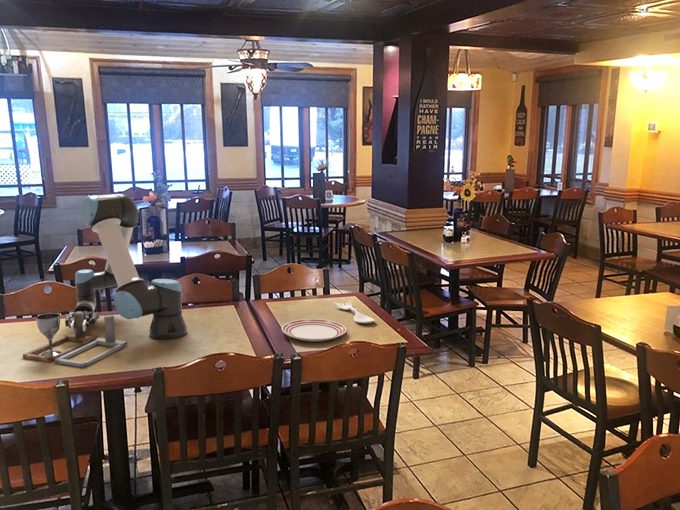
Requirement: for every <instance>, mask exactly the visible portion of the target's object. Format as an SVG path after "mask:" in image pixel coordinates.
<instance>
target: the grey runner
mask: <svg viewBox="0 0 680 510" xmlns="http://www.w3.org/2000/svg"><path fill="white" fill-rule="evenodd" d="M103 322H104V336H105V338H104V337H98V338H96V340H94V341H93V342H91V343H89V344H87V345H84V346H82V347H80V348H78V349H76V350H74V351H72V352H69V353H67V354H65V355H63V356H61V357H59V358H57V359H55V360H54V361H53V362H54V363H55V364H60V365H61V364H62V365H66V366H71V367H72V366H73V367H80V368H85V367H88V366H90V365H92V364H93V363H95V362H98V361H99V360H101V359H103V358H106V357H107V356H109V355H110V354H112V353H115V352H116V351H118V350H120V349H122V348H124V347H126V346H128V341H126V340H125V341H124V340H118V339H116V332H115V331H116V329H115V316H114V315H111V314H110V315H104V316H103ZM97 345H100V346H106V347H107V346H108V347H110V348H108V349H106V350H104V351H103V352H100V353H98V354H97V355H95V356H93V357H91V358H88V359H87V360H85V361H84V362H83V361H77V360H73V359H72V360H71V358H72V357H74V356H76V355H78V354H81V353H83V352H84V351H87V350H89V349H91V348H93V347H95V346H97Z"/></svg>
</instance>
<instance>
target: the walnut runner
mask: <svg viewBox="0 0 680 510" xmlns="http://www.w3.org/2000/svg"><path fill="white" fill-rule="evenodd" d="M73 313H74V312H73ZM83 322H84V313H83V312H75V313H74V325H75V329H74V333H68V334H65V335H64V336H62V337H60V338H58V339H56V340H52V348H53V347H55V346H57V345H59V344H62V343H65V342H66V341H71V342H72V341H73V342H80V343H79V344H76V345H74V346H72V347H69V348H67V349H66V350H65V349H64V350H63V351H61V353H59V354H56V355H54V356H52V357H47V356H41V355H39V353H41V352H45V351H46V350H49V349H50V346H49V343H47V344H45V345H41V346H39V347H36V348H34V349H32V350H30V351H28V352H25V353H23V354H22V358H23V359H29V360H35V361H40V362H41V361H42V362H48V363H52V362H54V360H55V359H57V358H59V357H61V356H63V355H65V354H67V353H69V352H72V351H74V350H76V349H78V348H80V347H82V346H84V345H87V344H89V343H91V342H93V341H94V340H96V339H97V337H96V336H88V335H86V330H85V331H83Z"/></svg>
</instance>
